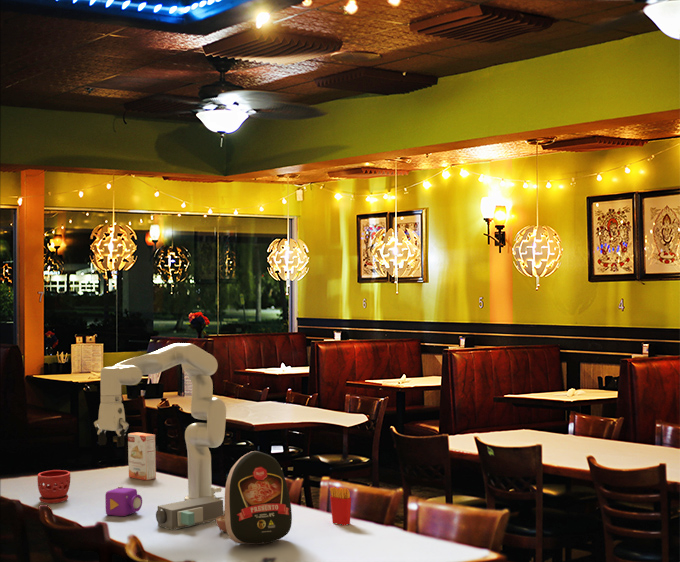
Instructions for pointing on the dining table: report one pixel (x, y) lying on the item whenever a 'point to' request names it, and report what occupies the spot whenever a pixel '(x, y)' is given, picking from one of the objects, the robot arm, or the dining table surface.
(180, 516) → the side door
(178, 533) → the dining table surface
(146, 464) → the cracker box
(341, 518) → the french fries
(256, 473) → the packaged food
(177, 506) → the camera housing
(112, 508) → the toy camera
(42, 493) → the plant pot
